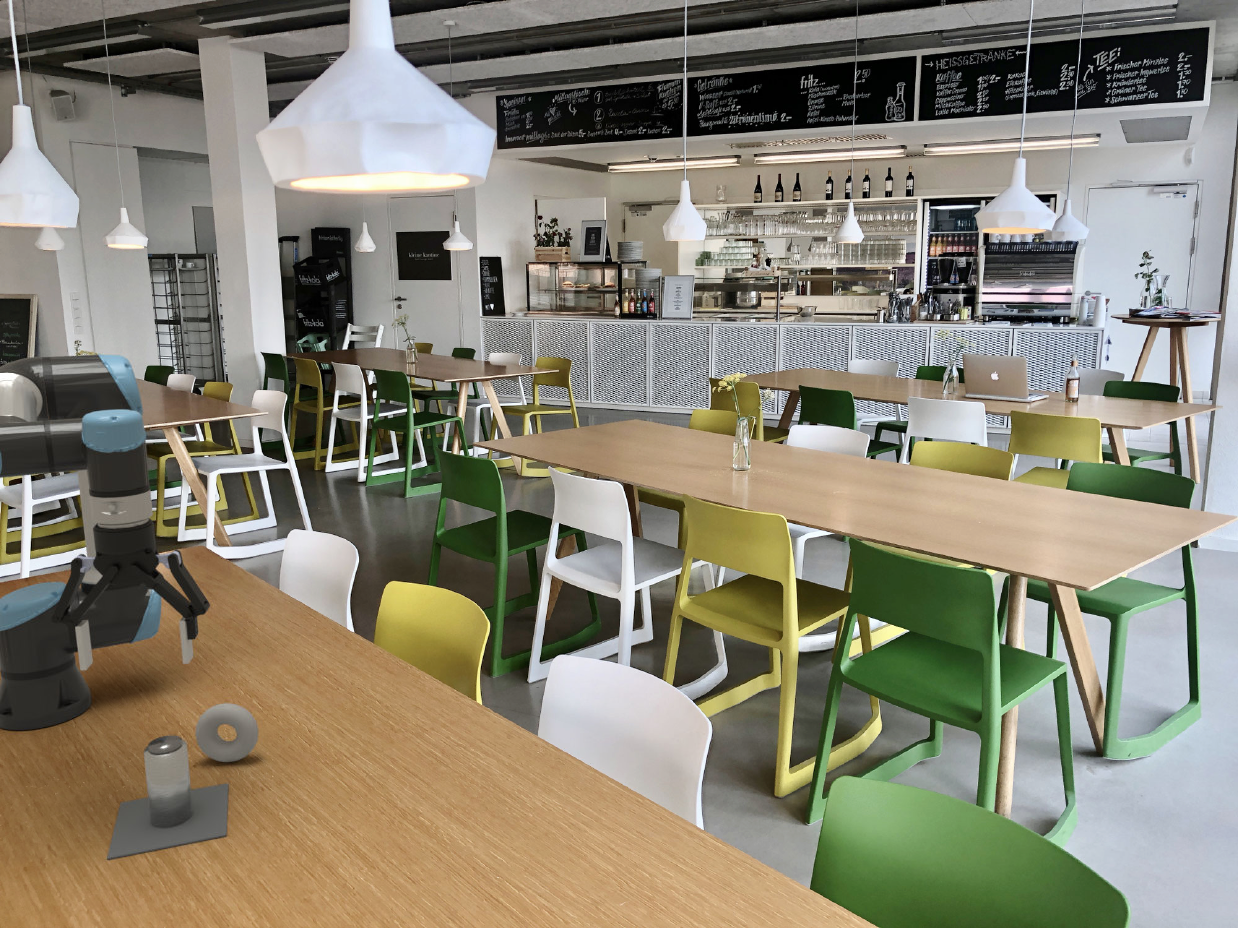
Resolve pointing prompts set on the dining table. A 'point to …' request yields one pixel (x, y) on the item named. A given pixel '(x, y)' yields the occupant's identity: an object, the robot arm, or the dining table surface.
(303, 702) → the dining table surface
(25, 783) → the dining table surface
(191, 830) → the mat
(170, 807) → the shaker
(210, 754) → the donut
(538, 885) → the dining table surface
